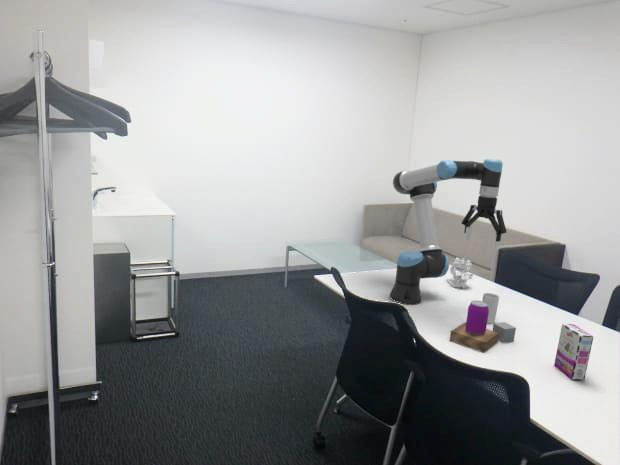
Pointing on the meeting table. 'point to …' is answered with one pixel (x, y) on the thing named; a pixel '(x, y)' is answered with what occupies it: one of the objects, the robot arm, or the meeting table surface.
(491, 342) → the walnut block
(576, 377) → the candy bar box
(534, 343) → the meeting table surface
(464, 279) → the silvery white figurine
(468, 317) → the beverage can
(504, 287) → the meeting table surface
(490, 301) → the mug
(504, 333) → the grey block
